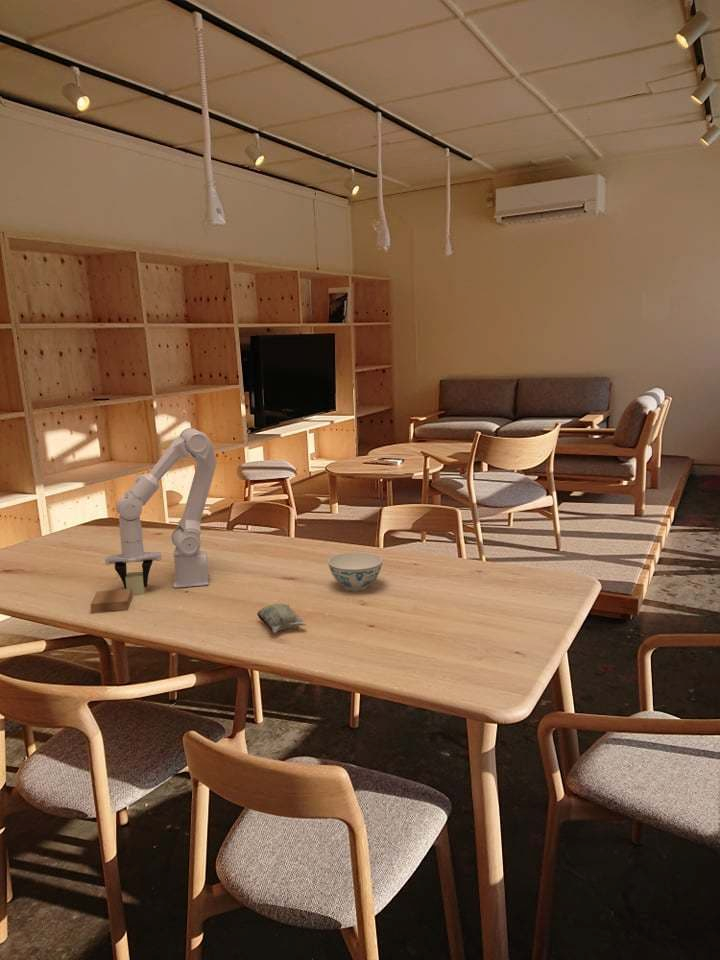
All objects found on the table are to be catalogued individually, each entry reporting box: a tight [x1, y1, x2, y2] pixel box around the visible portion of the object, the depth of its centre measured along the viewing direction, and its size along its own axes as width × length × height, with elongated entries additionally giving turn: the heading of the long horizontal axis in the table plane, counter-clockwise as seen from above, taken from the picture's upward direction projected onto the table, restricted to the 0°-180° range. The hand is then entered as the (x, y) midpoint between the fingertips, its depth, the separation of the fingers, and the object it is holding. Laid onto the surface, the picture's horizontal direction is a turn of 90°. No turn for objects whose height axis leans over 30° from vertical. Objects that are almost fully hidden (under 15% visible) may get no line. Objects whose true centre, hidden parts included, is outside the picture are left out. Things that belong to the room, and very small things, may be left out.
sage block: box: [125, 571, 147, 596], centre depth 193 cm, size 4×4×5 cm
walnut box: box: [90, 588, 134, 615], centre depth 184 cm, size 9×9×3 cm
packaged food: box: [256, 602, 307, 634], centre depth 168 cm, size 9×12×5 cm
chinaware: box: [327, 551, 383, 592], centre depth 193 cm, size 15×15×8 cm
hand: (136, 587), depth 194 cm, fingers closed on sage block, 4 cm apart
